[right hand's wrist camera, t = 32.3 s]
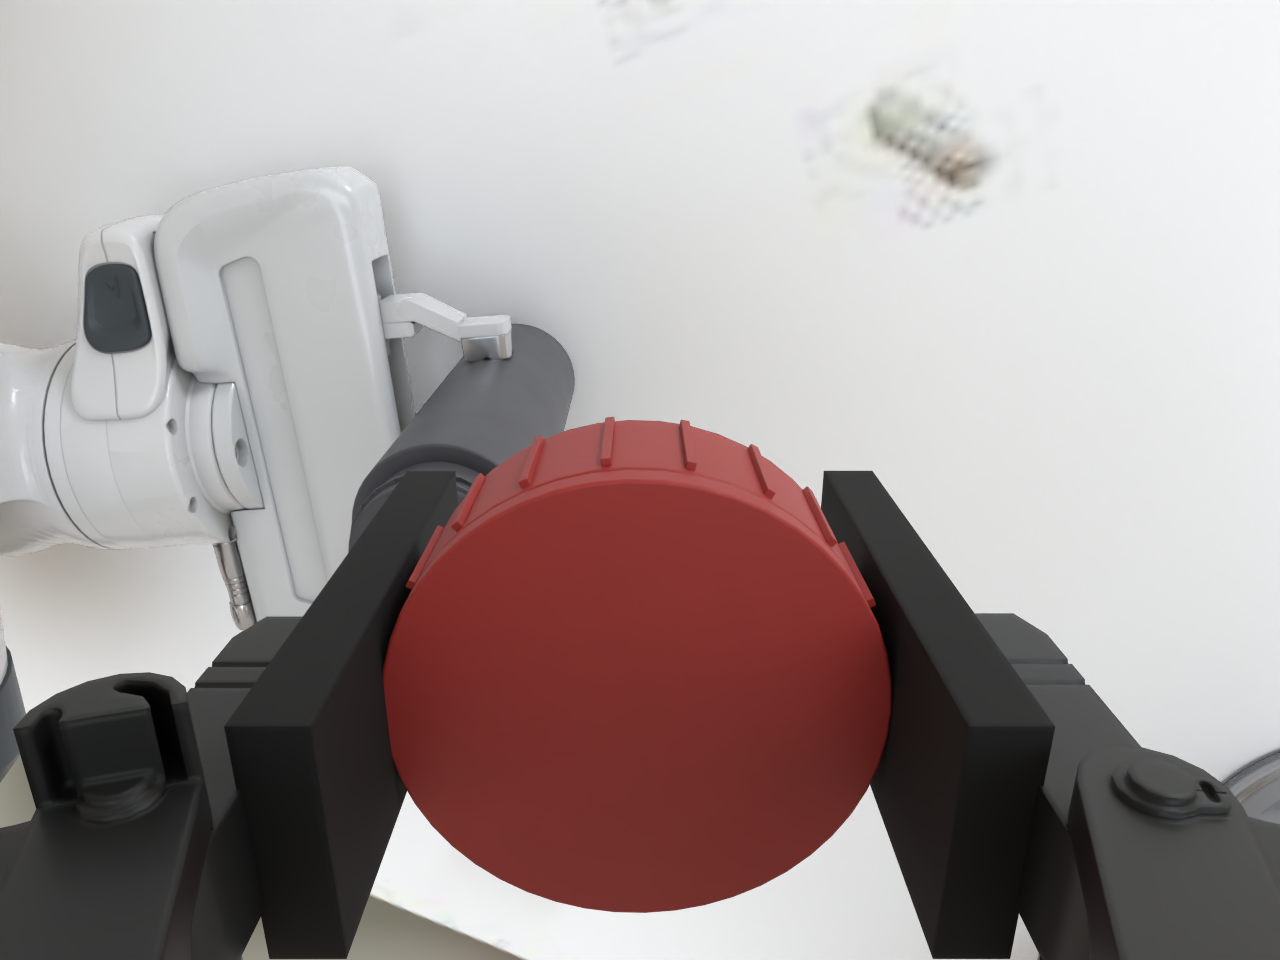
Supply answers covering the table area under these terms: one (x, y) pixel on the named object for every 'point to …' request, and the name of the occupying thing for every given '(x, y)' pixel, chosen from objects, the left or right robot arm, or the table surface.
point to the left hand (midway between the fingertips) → (520, 416)
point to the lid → (637, 671)
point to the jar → (476, 420)
